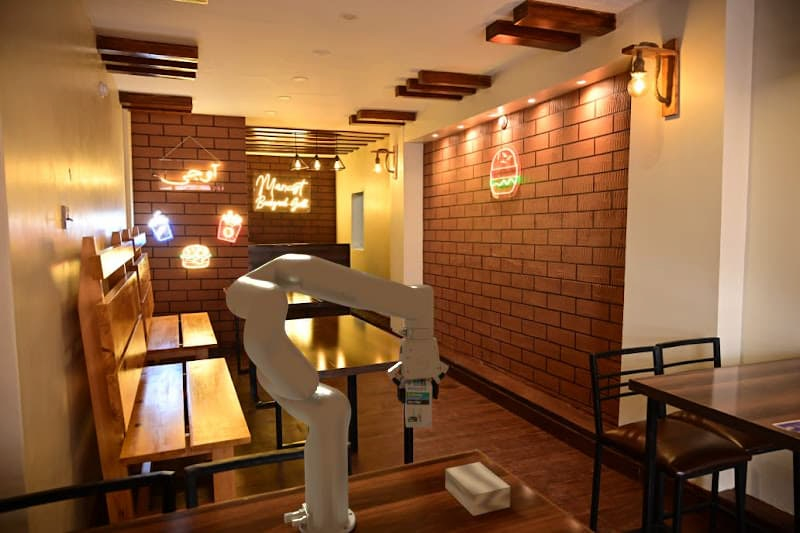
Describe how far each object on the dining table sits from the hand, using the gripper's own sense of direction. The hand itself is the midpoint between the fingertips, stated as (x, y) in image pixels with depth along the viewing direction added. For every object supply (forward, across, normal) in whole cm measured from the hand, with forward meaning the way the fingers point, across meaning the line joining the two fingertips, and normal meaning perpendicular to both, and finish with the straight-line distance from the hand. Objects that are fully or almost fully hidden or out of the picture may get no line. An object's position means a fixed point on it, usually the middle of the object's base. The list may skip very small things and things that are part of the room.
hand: (418, 399), depth 134 cm
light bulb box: (+6, 0, 0) cm, 6 cm away
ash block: (+22, +11, -12) cm, 27 cm away
